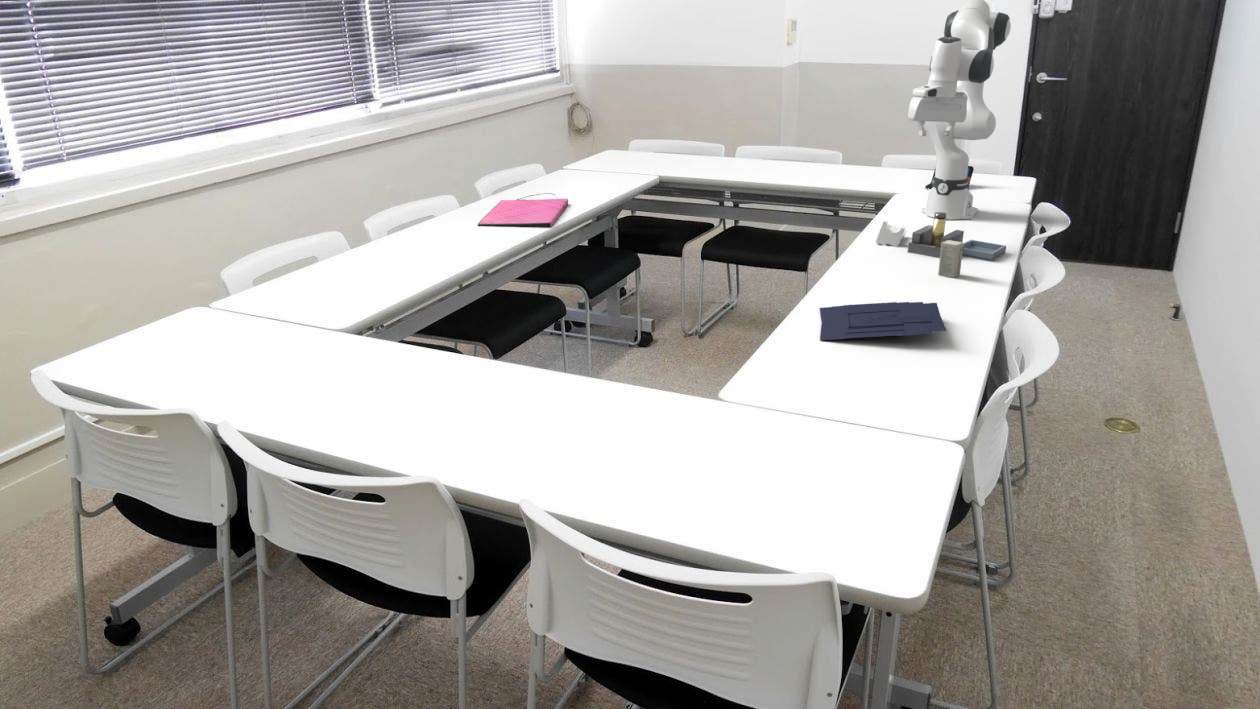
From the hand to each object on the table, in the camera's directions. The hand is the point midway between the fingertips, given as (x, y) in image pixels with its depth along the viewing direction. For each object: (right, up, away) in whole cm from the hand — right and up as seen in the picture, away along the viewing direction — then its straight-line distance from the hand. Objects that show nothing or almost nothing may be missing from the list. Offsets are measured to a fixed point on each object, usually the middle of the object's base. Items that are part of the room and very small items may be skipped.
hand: (934, 136), depth 293 cm
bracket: (-9, -32, +16) cm, 37 cm away
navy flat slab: (-34, -63, -58) cm, 92 cm away
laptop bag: (-137, -17, +57) cm, 149 cm away
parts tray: (+15, -38, 0) cm, 40 cm away
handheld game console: (+35, -1, +88) cm, 95 cm away
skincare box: (-2, -46, -19) cm, 50 cm away
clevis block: (+2, -36, +5) cm, 36 cm away
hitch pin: (+2, -36, +5) cm, 36 cm away
